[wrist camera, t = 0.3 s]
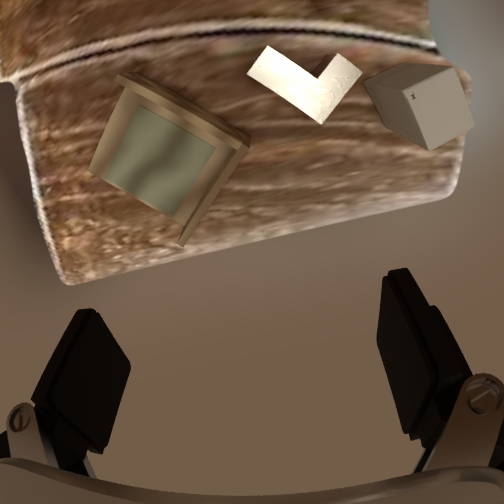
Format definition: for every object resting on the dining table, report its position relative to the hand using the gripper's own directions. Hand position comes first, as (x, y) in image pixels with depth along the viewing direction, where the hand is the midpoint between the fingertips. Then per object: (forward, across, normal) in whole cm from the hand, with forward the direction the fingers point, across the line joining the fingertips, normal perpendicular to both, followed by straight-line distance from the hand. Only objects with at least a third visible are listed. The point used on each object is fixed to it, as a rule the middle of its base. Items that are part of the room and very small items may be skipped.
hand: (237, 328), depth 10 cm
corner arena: (+35, +13, +1) cm, 37 cm away
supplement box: (+35, -20, -3) cm, 40 cm away
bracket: (+35, -7, -7) cm, 36 cm away
